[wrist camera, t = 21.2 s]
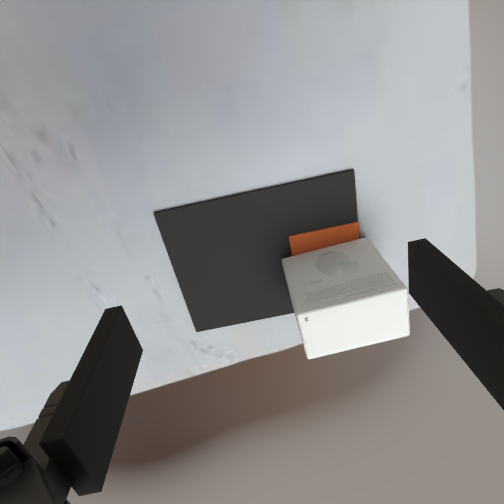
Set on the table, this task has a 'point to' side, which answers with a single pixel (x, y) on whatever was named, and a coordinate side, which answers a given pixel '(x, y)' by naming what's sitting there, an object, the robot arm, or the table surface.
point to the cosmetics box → (346, 298)
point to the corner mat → (254, 245)
